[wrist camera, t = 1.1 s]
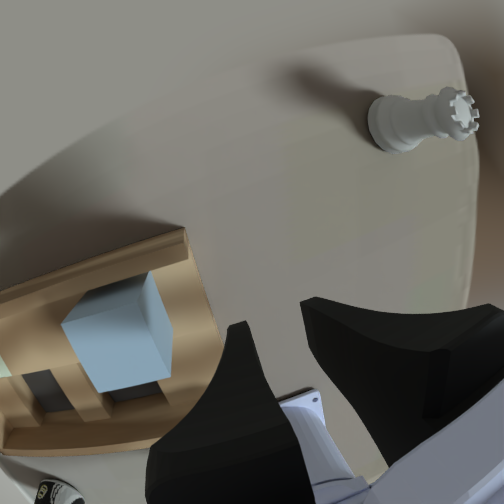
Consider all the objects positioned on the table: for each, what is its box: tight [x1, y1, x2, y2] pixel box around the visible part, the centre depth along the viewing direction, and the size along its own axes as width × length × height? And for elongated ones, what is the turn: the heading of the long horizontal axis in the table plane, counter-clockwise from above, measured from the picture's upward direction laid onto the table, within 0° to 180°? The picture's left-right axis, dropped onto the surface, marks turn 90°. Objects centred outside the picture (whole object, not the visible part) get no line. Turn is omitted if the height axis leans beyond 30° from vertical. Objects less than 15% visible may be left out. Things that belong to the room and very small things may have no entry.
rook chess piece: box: [367, 87, 479, 154], centre depth 16 cm, size 4×4×8 cm
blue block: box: [61, 271, 173, 393], centre depth 15 cm, size 4×4×5 cm
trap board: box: [0, 227, 224, 457], centre depth 16 cm, size 12×22×5 cm, turn 104°
